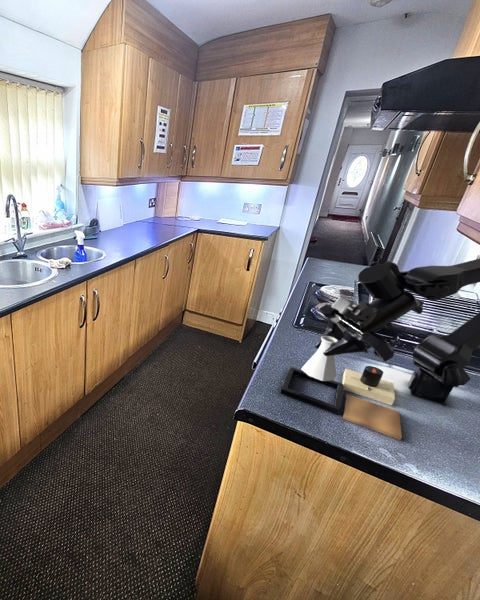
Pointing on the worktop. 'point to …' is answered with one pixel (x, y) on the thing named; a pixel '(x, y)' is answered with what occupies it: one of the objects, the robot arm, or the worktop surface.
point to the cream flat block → (368, 387)
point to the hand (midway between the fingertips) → (319, 351)
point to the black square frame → (311, 400)
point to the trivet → (372, 416)
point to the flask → (322, 362)
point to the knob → (371, 376)
